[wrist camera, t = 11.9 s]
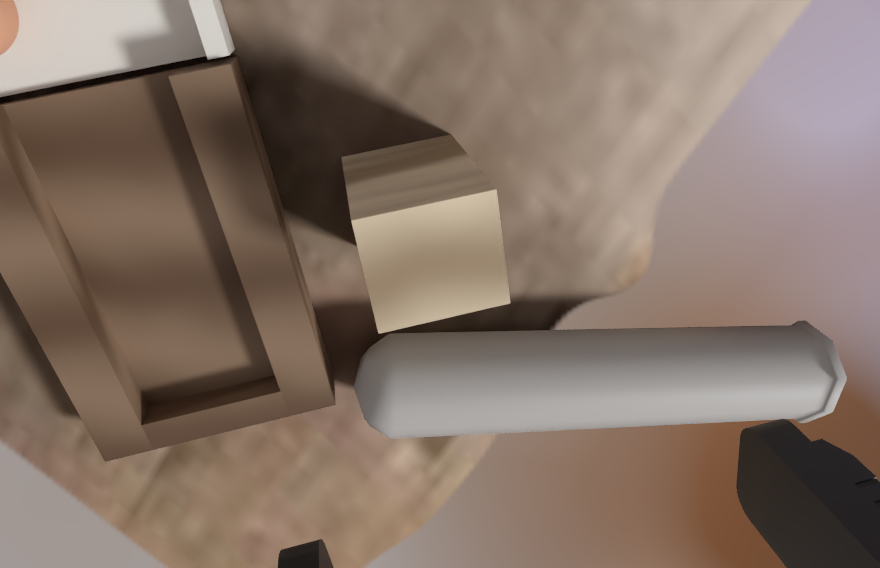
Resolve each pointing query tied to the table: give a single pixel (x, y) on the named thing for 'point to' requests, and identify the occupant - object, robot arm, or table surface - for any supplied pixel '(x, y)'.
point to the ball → (8, 24)
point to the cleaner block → (425, 232)
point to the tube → (595, 379)
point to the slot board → (158, 258)
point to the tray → (107, 39)
